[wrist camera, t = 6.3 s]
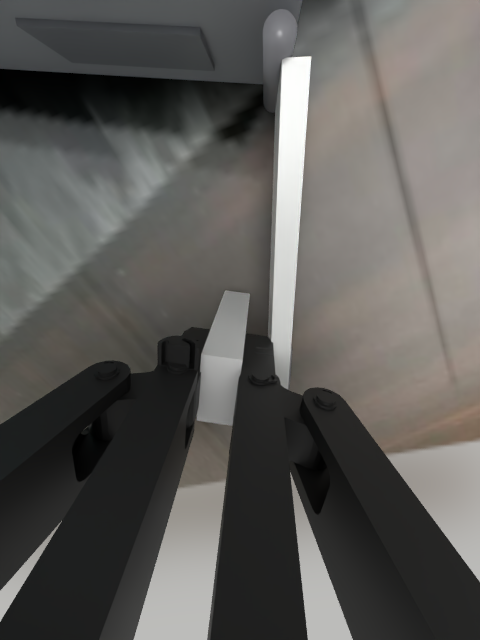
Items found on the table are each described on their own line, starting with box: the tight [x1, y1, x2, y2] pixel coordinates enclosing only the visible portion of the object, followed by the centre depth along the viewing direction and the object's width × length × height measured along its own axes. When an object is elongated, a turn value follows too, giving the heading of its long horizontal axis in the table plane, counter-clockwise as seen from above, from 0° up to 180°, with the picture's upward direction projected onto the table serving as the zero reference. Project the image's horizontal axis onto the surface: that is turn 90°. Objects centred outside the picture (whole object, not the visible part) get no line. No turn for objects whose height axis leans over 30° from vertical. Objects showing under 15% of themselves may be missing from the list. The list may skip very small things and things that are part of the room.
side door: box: [263, 9, 311, 390], centre depth 13 cm, size 14×2×6 cm, turn 0°
